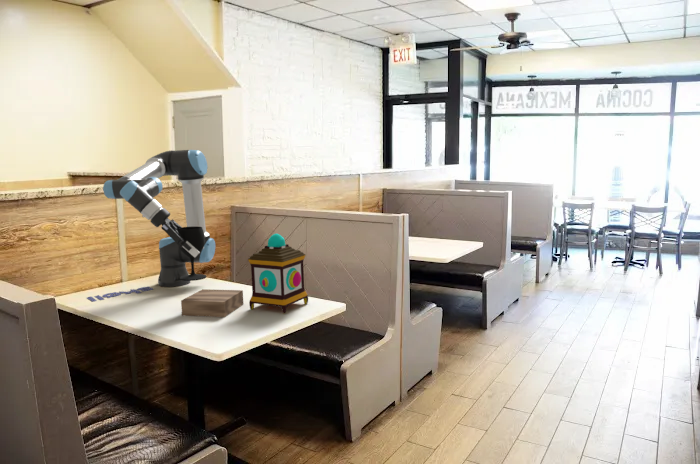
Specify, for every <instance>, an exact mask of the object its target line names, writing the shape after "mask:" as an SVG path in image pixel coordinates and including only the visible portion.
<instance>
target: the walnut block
mask: <svg viewBox="0 0 700 464" xmlns="http://www.w3.org/2000/svg"><path fill="white" fill-rule="evenodd" d="M180 304H181V306H180V307H181V316H183V317H184V316H191V317H210V318H211V317H214V318H216V317H217V318H219V317H220V318H226V317H227V316H229V315H231V314H232V313H233V312H234V311H236V310H238V309H239V308H241V307H242V306H244V291H243V290H242V289H241V290H240V289H203V288H202V289H200V290H199V291H197V292H194V293H193V294H191V295H189V296H187V297H185V298H183V299H181V300H180Z"/></svg>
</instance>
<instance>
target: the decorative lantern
mask: <svg viewBox="0 0 700 464" xmlns="http://www.w3.org/2000/svg"><path fill="white" fill-rule="evenodd" d="M305 258H306V254H305V253H304V252H303V251H301V250H300V249H295V248H294V247H293V248H292V246H290V245H289V244H286V241H285V238H284V237H283V236H282V235H281V234H279V233H273V234H272V235H271V236H270V237H269V238H268V239H267V245H265V246H264V248H261V250H259V251H257V252H256V253H255V252H254V253H253V254H252V255H251V256H249V257H248V258H247V261H248V263H249V264H250V269H251V270H250V272H251V274H250V275H251V289H252V292H251V297H250V298H249V299H250V300H249V309H250V310H253V309H255V304H257V305H262V306H263V305H265V306H273V307H280V308H281V310H282V314H284V315H285V314H286V313H287V307H288V306H290V305H293V304H295V303H297V302H299V301H301V300H303V303H304V304H305V305H306V304H308V303H309V296H308V295H309V294H308V293H307V291H306V290H305V275H304V259H305Z"/></svg>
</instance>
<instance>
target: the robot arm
mask: <svg viewBox="0 0 700 464" xmlns="http://www.w3.org/2000/svg"><path fill="white" fill-rule="evenodd" d="M206 174H208V162H207V159H206V156H205V154H204V153H203V152H202V151H200V150H198V149H180V150H167V151H163V152H160V153H157V154H156V155H153V156H152V157H150V158H148V159H147V160H146V162H145V163H144V164H142V165H141V166H139V167H137V168H135V169H133V170H132V171H130V172H128V173H126V174H125V175H123V176H122V177H120V178H118V179H110V180H109V179H108V180H106V181H105V182H104V183H103V187H102V191H103V194H104V197H106V198H108V199H111V200H118V199H119V200H120V199H123V200H125V202H127V203H128V204H130V205H131V206H132V208H134V209H135V210H137V211H138V212H139V213H140V214H141V215H142V218H145V219H147V220H150V221H149V222H150V223H151V224H152V225H154V227H155V228H159V227H160V226H161V227H160V229H161V230H163V232H165V233H166V234H167V235H168V237H164V238H161V239H160V240H159V241H158V251H159V260H160V261H159V262H160V263H159V264H160V272H159V276H158V278H157V285H158V286H159V287H164V288H165V287H168V288H170V287H179V286H180V287H181V286H185V285H189V284H190V283H191V281H184V280H180V277H181V276H184V275H190V273H189V272H188V269H187V265H186V263H191V260H190V258H189V257H188V256H186V255H185V254H184V253H183V252H182V251H181V250H180V248H179V247H181V246H182V247H183V248H184V249H186V250H187V251H188V252H189V253H190V254H191V255H192V256H193V257H195V258H194V263H200V264H204V263H209V262H211V261H212V260H213V258H214V256H215V252H216V241H215V239H214V238H212V237H211V235H210V232H208V231H207V229H206V218H205V210H204V208H205V207H204V200H203V189H202V181H203V180H204V178H205V175H206ZM165 176H168V177H169V176H174V177H175V176H177V179H178V181H179V182H180V183H181V186H182V194H183V196H182V197H183V203H184V213H185V220H186V221H185V222H186V223H185V224H186V227H194V226H196V227H202V229H203V231H204V235H205V244H204V247H203V249H202V251H201V252H199V251H198V250H197V249H196V248H195V247H193V246H192V245H191V244H190V243H189V242H188V241H186V240H185V239H184V238H183V237H182V236H181V235H180V233H179V232H178V231H179V228H182V225H180V224H179V223H178V222H176V221H175V219H173V218H172V219H169V218H170V215H171V212H169V211H168V210H167V208H166V207H163V205H162V204H161V203H160V202H159V201H158V200H156V199H155V198H156V197H157V196H158V195H159V194H160V193H161V192H162V191H163V186H164V185H163V183H162V181H161V180H160V179H159V178H161V177H165ZM178 245H179V246H178Z"/></svg>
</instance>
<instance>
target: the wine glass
mask: <svg viewBox="0 0 700 464" xmlns="http://www.w3.org/2000/svg"><path fill="white" fill-rule="evenodd" d="M181 227H182V226H181ZM178 232H179V233H180V235H181V236H182V237H183V238H184V239H185V240H186V241H188V242H189V243H190V244H191V245H192V246H193V247H195V248H196V249H197V250H198V251H199V252H201V251H202V249H203V247H204V244H205V235H204V231H203V229H202V227H196V226H194V227H187V226H183V227H182V228H179V231H178ZM178 246H179V245H178ZM179 248H180V250H181V251H182V252H183V253H184V254H185V255H186V256H188V257H189V258H190V260H191V262H190V267H191V272H190V273H189V275H184V276H181V277H180V280H184V281H190V282H193V281H195V282H196V281H200V280H204V279H207V274H202V273H196V272H195V267H194V266H195V262H194V258H195V257H193V256H192V255H191V254H190V253H189V252H188V251H187V250H186V249H184V248H183V247H182V246H181V247H179Z"/></svg>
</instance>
